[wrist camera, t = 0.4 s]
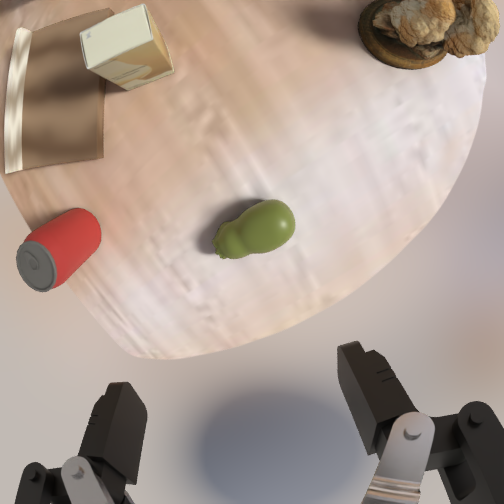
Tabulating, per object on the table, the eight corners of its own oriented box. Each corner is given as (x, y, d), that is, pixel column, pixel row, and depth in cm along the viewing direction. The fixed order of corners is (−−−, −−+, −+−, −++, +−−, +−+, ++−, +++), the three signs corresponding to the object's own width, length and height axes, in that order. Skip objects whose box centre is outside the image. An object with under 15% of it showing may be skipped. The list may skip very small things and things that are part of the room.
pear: (305, 243, 31) (225, 278, 34) (300, 225, 36) (230, 257, 39) (282, 198, 29) (199, 239, 32) (280, 186, 34) (208, 222, 37)
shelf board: (34, 37, 22) (15, 29, 18) (114, 13, 24) (100, -2, 19) (25, 168, 30) (4, 174, 25) (103, 157, 31) (85, 161, 26)
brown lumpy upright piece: (424, -6, 24) (494, -37, 8) (458, 56, 28) (538, 47, 13) (339, 8, 26) (407, -49, 10) (383, 83, 30) (475, 64, 15)
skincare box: (127, 92, 28) (82, 72, 17) (119, 62, 27) (75, 34, 15) (178, 72, 28) (154, 39, 17) (169, 42, 27) (144, 1, 15)
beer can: (83, 196, 32) (32, 222, 21) (112, 236, 35) (71, 277, 24) (54, 225, 33) (4, 259, 22) (82, 262, 36) (39, 306, 24)
